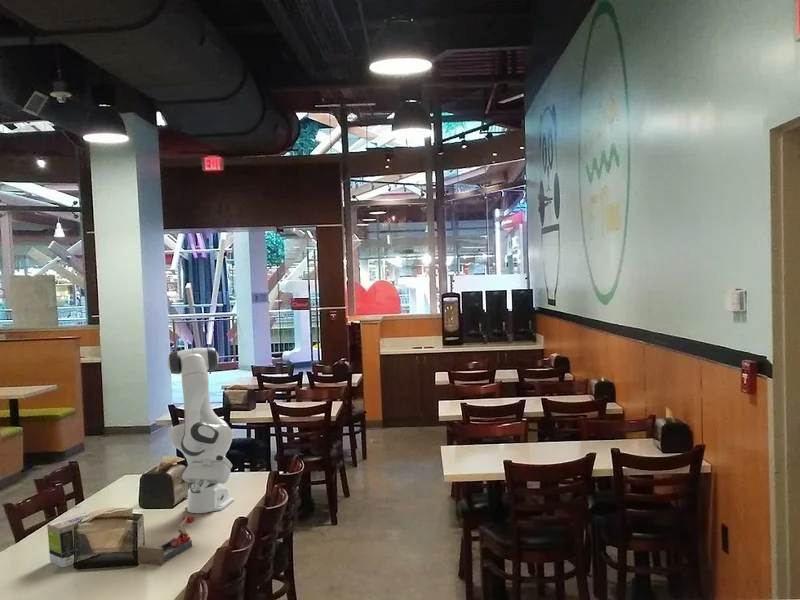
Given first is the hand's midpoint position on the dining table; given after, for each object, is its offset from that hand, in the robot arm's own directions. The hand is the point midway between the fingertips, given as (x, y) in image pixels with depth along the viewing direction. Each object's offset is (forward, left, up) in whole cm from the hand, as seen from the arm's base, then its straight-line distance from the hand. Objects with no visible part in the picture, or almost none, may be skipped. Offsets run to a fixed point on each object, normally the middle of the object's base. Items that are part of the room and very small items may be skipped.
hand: (198, 491), depth 285 cm
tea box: (+32, -32, -18) cm, 49 cm away
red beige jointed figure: (+11, 0, -18) cm, 21 cm away
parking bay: (+20, 0, -18) cm, 27 cm away
